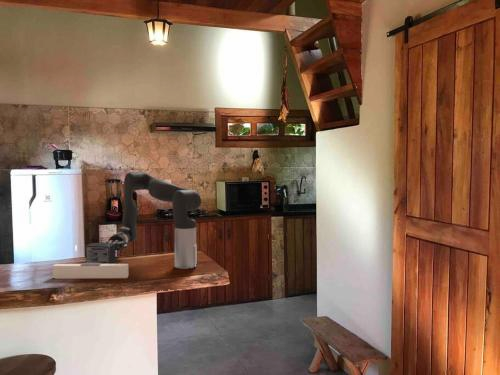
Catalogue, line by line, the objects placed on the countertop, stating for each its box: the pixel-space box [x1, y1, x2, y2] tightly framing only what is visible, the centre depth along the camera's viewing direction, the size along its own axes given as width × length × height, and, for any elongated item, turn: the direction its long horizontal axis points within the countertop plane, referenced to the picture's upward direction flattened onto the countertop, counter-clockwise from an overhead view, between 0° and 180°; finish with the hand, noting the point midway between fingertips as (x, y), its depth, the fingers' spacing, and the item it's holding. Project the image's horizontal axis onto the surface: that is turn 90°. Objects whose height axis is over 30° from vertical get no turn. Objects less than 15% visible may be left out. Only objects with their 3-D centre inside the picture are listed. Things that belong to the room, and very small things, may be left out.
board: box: [52, 262, 130, 280], centre depth 152 cm, size 28×3×5 cm, turn 94°
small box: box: [85, 242, 117, 264], centre depth 165 cm, size 11×6×10 cm, turn 84°
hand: (107, 249), depth 174 cm, fingers closed
